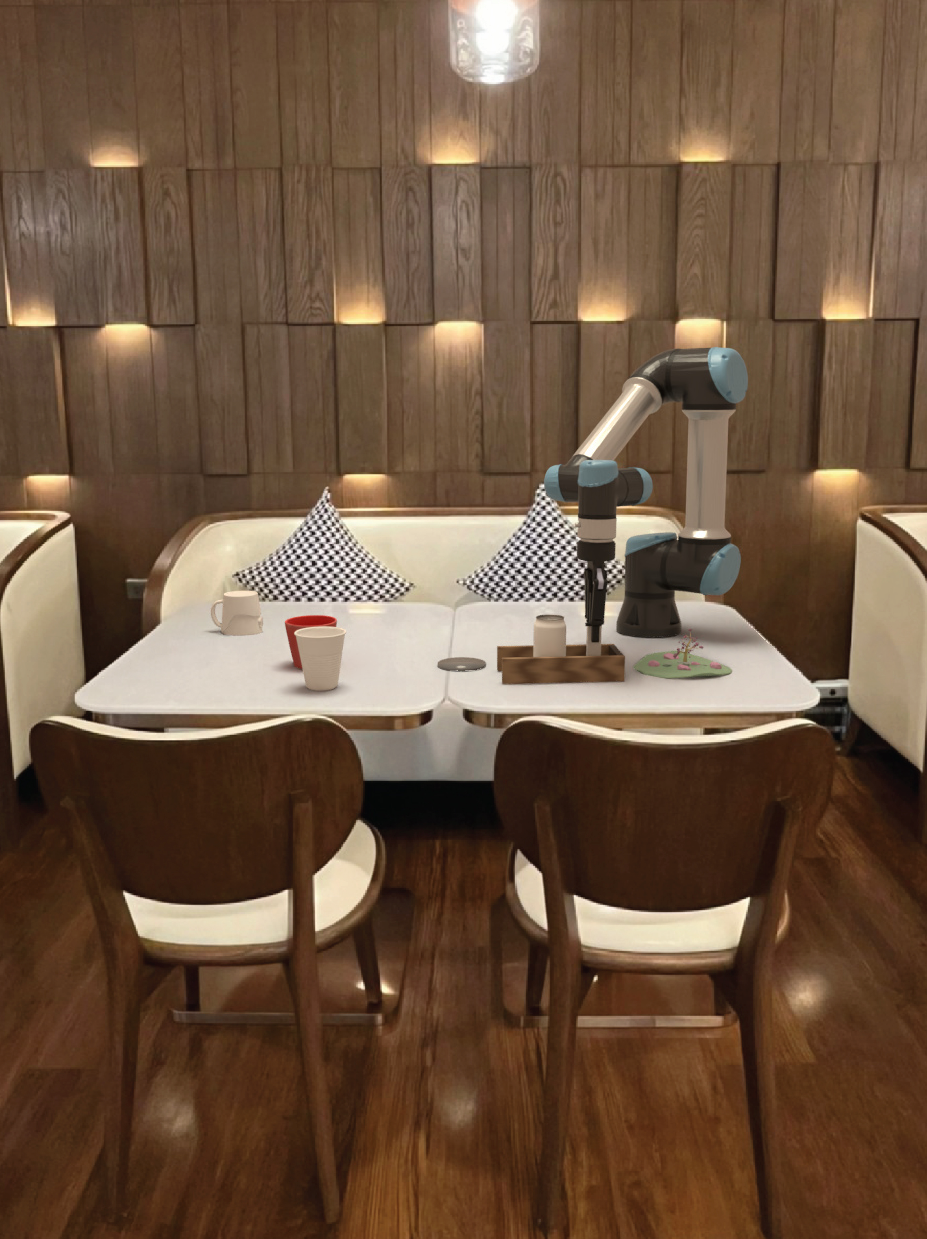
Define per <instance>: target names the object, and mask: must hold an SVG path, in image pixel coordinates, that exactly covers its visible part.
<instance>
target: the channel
mask: <svg viewBox="0 0 927 1239" xmlns="http://www.w3.org/2000/svg"><path fill="white" fill-rule="evenodd" d="M496 646H497V647H496V671H497V670H498V671H497V672H501V684H502V685H519V684H521V685H522V684H523V685H524V684H564V683H565V684H566V683H567V684H568V683H572V684H573V683H609V682H610V683H611V682H612V683H613V682H625V676H626V675H625V673H626V672H625V670H626V669H625V668H626V667H625V666H626V657H625V655H624V653H623V652H622V651H621V650H620V649H619V648H618V647H617V646H616V645H615V643H601V656H586V644H585V643H584V644H583V643H581V644H566V656H560V657H533V647H534V644H533V645H529V644H528V645H527V644H526V645H496Z"/></svg>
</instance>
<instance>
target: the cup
mask: <svg viewBox="0 0 927 1239" xmlns="http://www.w3.org/2000/svg"><path fill="white" fill-rule="evenodd" d="M346 634H347V630H346V629H345V628H341V627H337V626H336V627H309V628H303V629H299V630H297V631H295V632H294V635H295V636H296V639H297V644H298V649H299V653H300V658H301V663H302V668H303V669H302V673H303V678H304V682H305V687H306V688H307V689H308V690H310V691H318V692H319V691H320V692H321V691H322V692H325V691H331V690H333V689H336V688H337V686H338V685H339V680H340V673H341V672H340V671H341V664H342V656H343V650H344V644H345V643H344V642H345V636H346Z"/></svg>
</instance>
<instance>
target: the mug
mask: <svg viewBox="0 0 927 1239" xmlns="http://www.w3.org/2000/svg"><path fill="white" fill-rule="evenodd" d="M219 604H222V613H221V614H222V615H221V621H219V620H218V619H217V615H216V607H217V605H219ZM261 615H262V612H261V604H260V599H259V594H258V592H257V591H254V590H233V591H227V592H224V593H223V598H222V599H217V600H216V601H214V602H213V603H212V604H211V607H210V616H211V620H212V622H213V623H214V625H215V626H216V627H218V628H220V632H221V633H222V634H224V635H226V636H240V637H241V636H254V635H259V634H262V633H264V631H263V626H264V618H263V616H261Z"/></svg>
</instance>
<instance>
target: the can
mask: <svg viewBox="0 0 927 1239" xmlns="http://www.w3.org/2000/svg"><path fill="white" fill-rule="evenodd" d="M533 645H534V647H533V657H560V656H566V645H567V624H566V621H565V616H563V615H560V614H540V615H537V616H535V621H534V623H533Z"/></svg>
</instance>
